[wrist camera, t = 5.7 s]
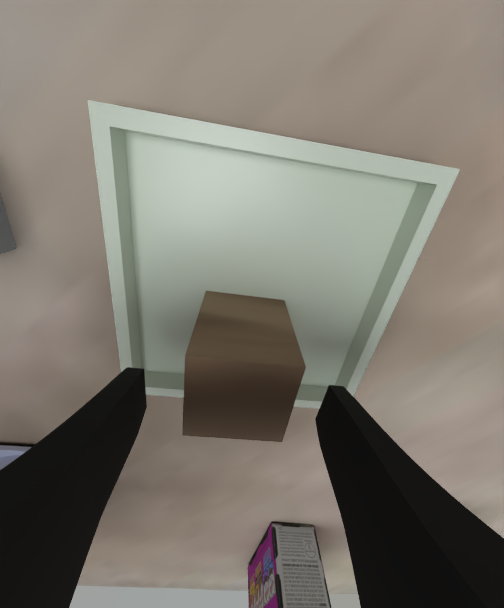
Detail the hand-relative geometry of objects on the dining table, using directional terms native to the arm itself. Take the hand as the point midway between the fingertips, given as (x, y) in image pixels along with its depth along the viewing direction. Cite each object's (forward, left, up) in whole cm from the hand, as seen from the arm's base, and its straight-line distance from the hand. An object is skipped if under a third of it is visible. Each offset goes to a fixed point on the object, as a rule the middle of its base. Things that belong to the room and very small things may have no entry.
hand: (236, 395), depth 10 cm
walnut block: (0, 0, -4) cm, 4 cm away
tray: (+3, -1, -5) cm, 5 cm away
